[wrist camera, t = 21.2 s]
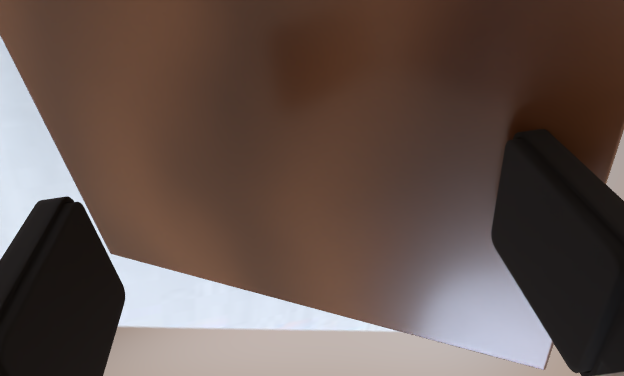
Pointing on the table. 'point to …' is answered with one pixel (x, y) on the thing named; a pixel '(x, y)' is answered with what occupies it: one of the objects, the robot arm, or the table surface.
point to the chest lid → (324, 141)
